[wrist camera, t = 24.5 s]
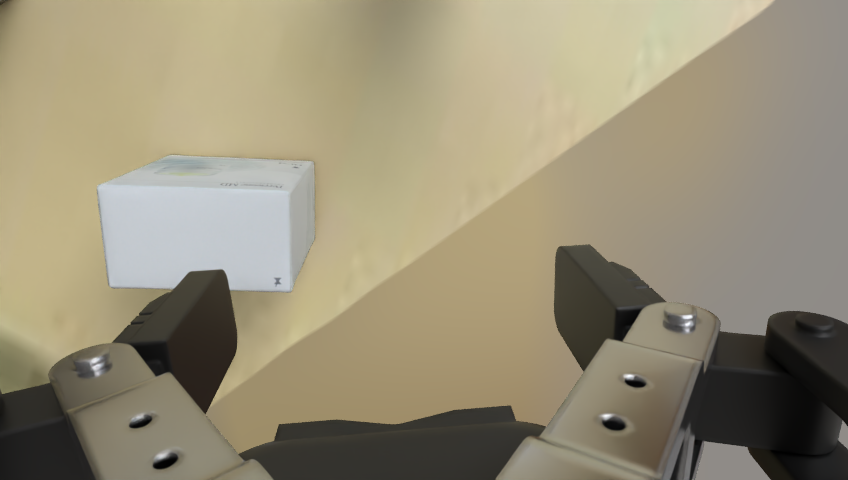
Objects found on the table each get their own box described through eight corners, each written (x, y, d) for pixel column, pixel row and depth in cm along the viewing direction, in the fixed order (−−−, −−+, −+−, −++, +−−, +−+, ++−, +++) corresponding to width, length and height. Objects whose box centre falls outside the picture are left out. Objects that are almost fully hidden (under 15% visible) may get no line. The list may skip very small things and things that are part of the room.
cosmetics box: (314, 155, 40) (291, 190, 30) (315, 240, 42) (294, 298, 32) (165, 149, 39) (91, 183, 30) (173, 235, 42) (107, 294, 32)
